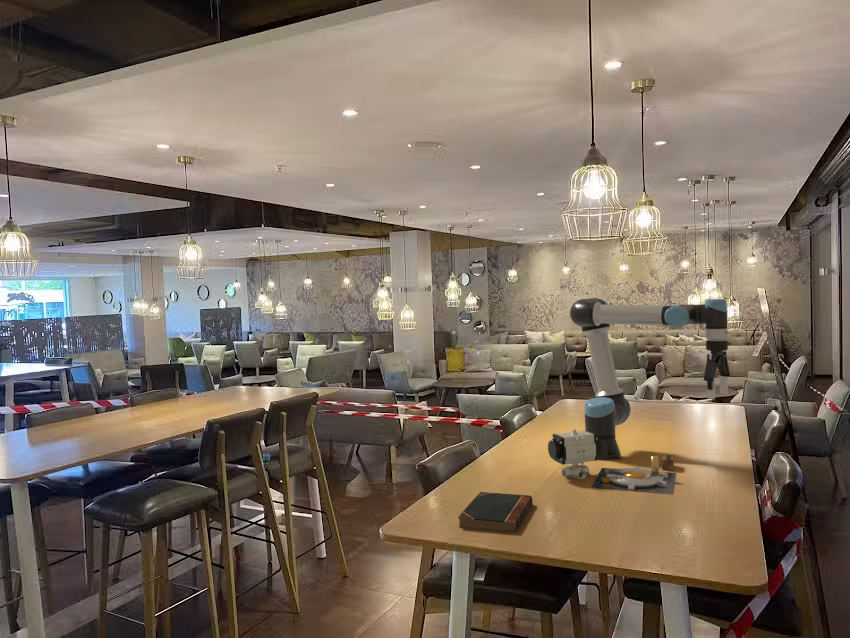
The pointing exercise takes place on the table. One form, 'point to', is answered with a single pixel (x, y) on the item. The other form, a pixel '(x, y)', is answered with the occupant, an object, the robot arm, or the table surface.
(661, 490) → the base plate
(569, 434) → the ball valve
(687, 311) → the robot arm
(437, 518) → the table surface
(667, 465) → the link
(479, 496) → the book
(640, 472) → the turntable with brass post
